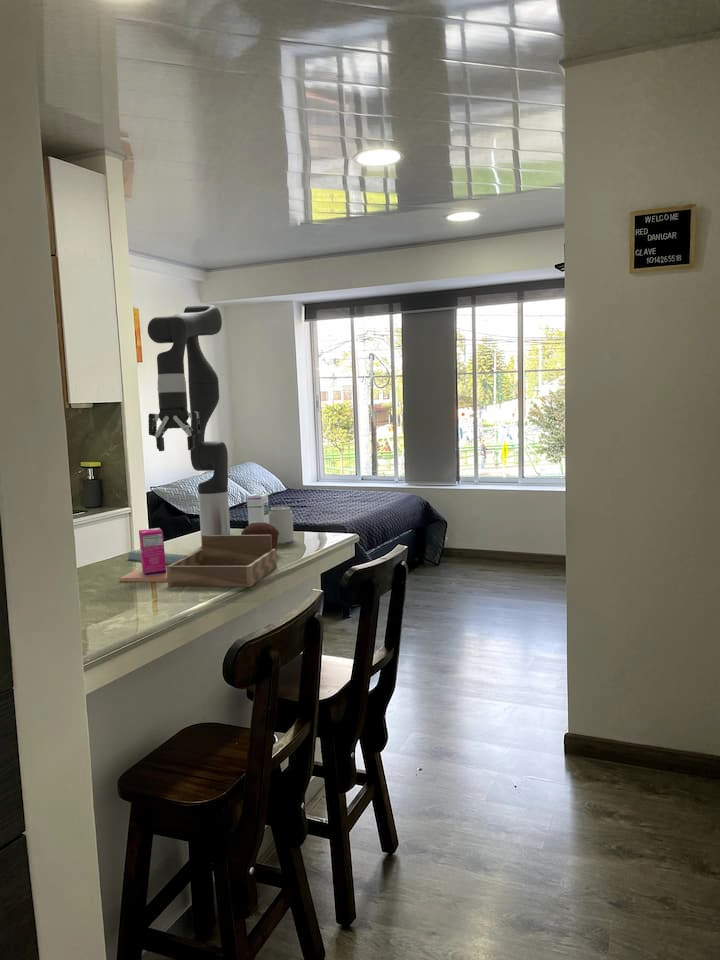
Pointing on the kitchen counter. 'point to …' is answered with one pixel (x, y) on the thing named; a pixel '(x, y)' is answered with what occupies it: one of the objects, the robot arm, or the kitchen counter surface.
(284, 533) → the can
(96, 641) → the kitchen counter surface
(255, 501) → the syrup box
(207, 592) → the kitchen counter surface
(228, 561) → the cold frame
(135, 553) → the aluminum foil
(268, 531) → the muffin
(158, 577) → the terracotta tile
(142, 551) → the supplement box
